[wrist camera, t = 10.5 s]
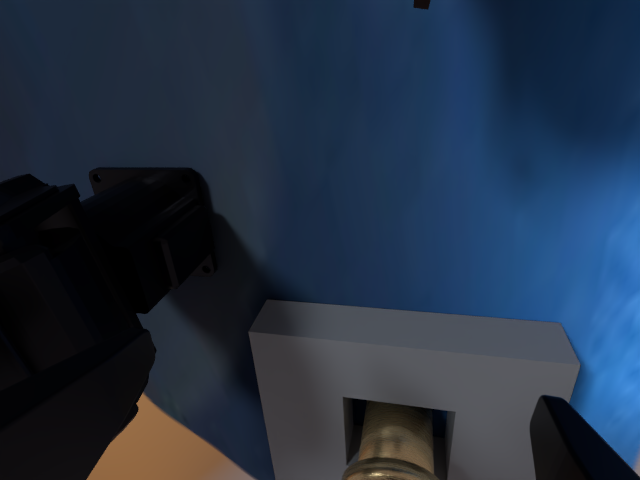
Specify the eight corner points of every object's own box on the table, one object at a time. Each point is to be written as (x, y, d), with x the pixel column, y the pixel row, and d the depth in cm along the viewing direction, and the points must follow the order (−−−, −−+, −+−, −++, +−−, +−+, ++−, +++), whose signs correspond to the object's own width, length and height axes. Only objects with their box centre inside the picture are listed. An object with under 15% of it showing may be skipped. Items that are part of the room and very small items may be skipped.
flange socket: (289, 450, 30) (277, 490, 28) (266, 299, 24) (248, 331, 22) (517, 489, 27) (527, 538, 24) (560, 323, 20) (580, 365, 18)
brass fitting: (358, 421, 27) (340, 532, 21) (356, 361, 25) (335, 468, 19) (440, 433, 26) (446, 555, 20) (446, 372, 24) (455, 489, 18)
